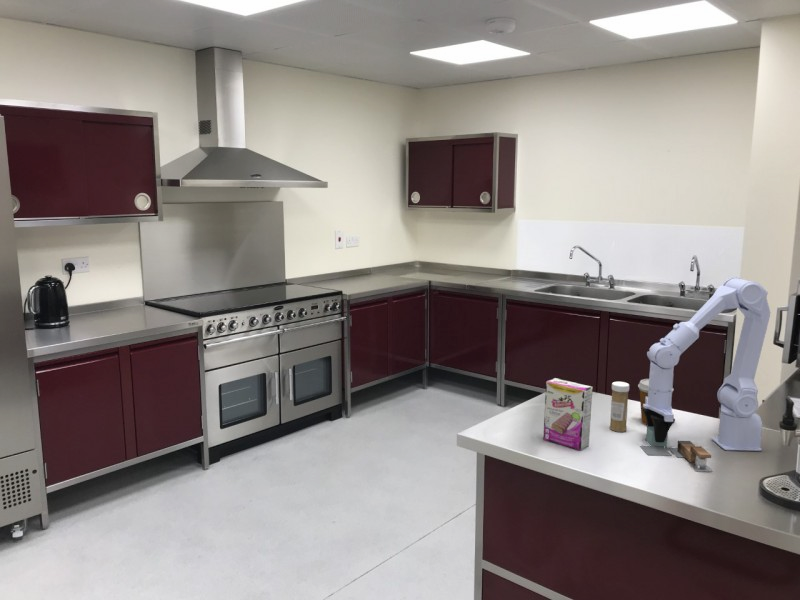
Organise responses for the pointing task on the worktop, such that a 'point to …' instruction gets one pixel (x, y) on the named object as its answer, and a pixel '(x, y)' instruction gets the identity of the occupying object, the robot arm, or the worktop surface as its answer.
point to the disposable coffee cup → (644, 393)
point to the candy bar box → (567, 413)
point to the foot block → (651, 438)
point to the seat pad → (655, 450)
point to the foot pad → (676, 452)
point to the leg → (692, 451)
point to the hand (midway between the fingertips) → (656, 438)
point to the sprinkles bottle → (619, 406)
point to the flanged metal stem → (700, 465)
